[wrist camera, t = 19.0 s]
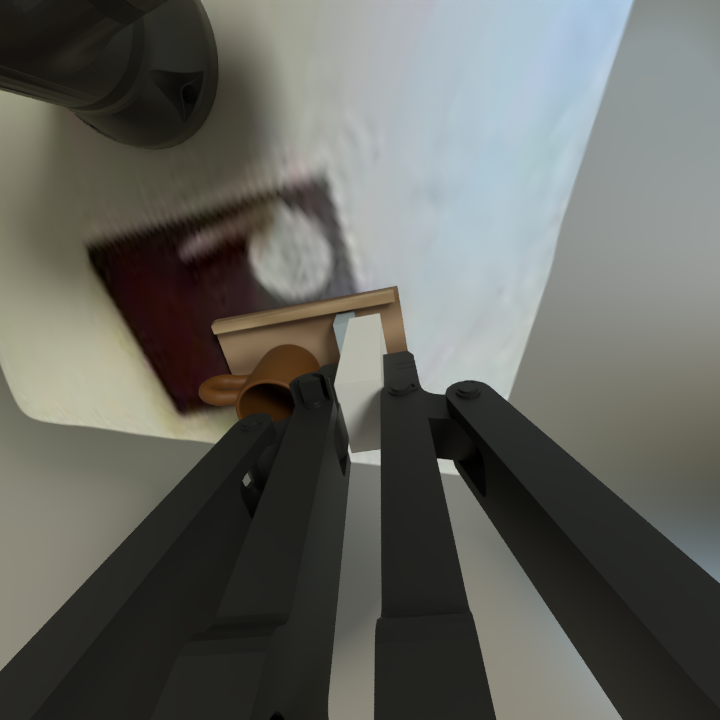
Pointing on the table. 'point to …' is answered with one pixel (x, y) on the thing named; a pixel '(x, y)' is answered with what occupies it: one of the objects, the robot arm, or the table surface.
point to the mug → (262, 384)
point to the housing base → (306, 328)
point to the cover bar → (342, 326)
